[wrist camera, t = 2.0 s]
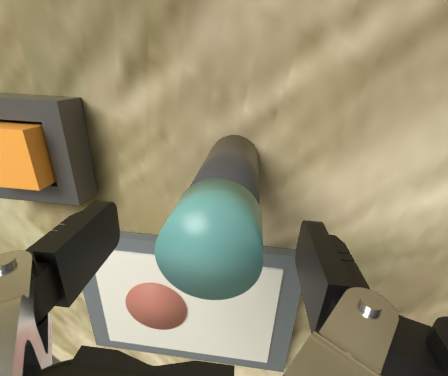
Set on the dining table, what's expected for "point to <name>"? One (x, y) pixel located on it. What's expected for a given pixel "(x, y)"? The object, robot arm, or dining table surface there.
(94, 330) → the drawing board
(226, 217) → the marker
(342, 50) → the dining table surface
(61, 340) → the dining table surface
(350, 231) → the dining table surface
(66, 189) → the button housing
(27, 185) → the button
